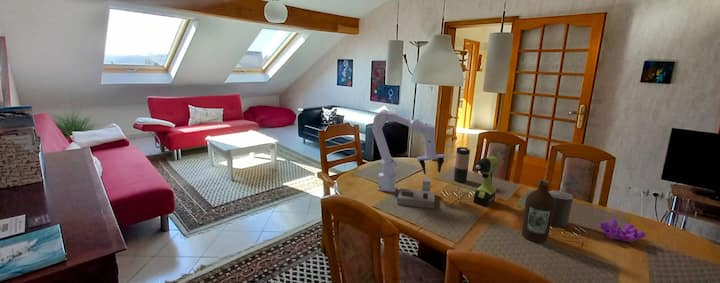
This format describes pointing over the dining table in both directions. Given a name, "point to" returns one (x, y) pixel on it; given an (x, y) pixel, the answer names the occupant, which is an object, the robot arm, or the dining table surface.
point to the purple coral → (621, 231)
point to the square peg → (426, 185)
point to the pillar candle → (561, 208)
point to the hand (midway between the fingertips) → (431, 172)
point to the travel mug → (461, 164)
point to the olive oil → (538, 214)
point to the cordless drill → (486, 181)
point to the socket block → (416, 198)
